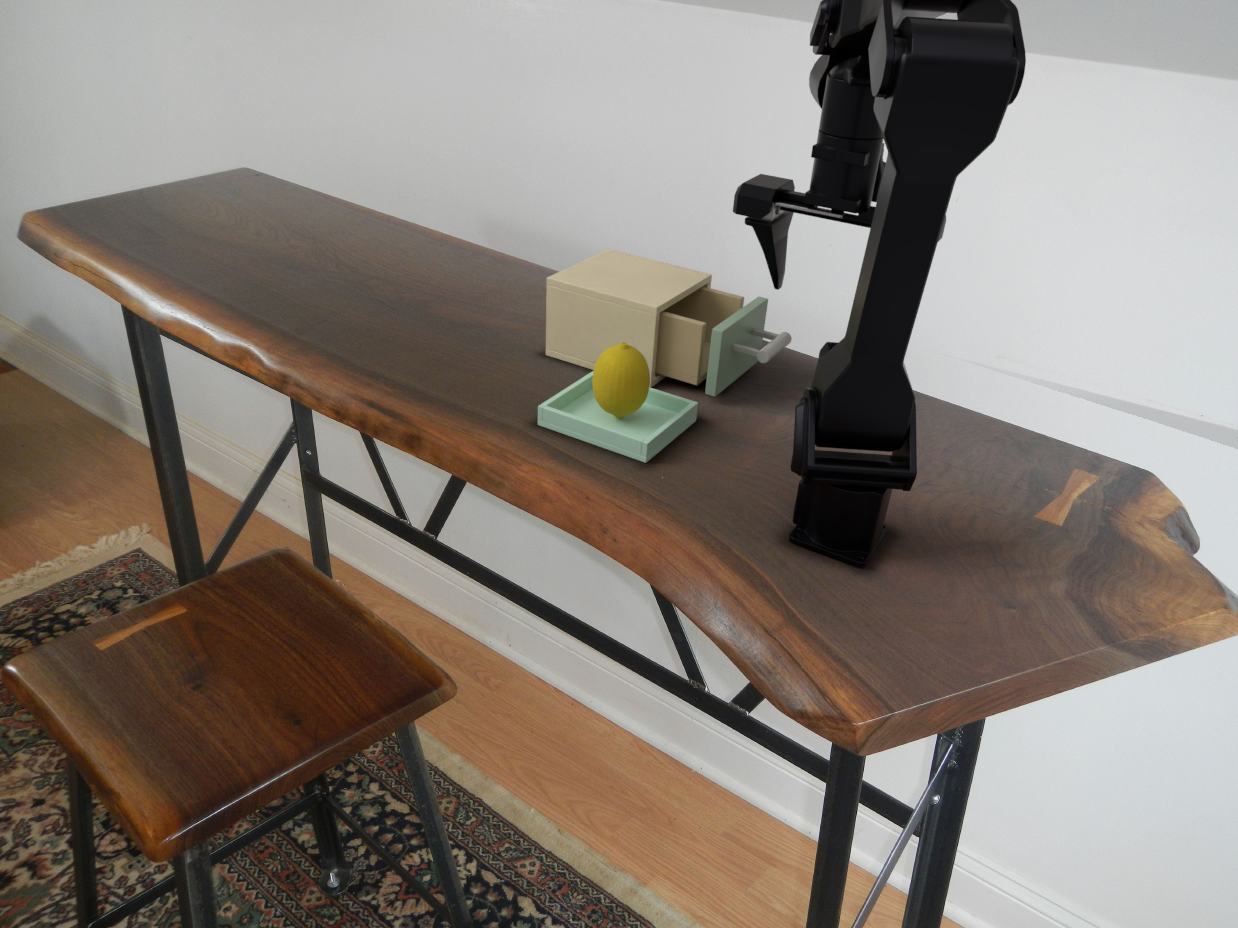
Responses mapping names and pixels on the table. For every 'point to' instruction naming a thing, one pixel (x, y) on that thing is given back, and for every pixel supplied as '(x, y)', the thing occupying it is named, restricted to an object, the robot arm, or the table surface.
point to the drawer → (714, 338)
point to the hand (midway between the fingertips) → (822, 298)
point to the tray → (618, 420)
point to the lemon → (621, 380)
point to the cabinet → (613, 306)
